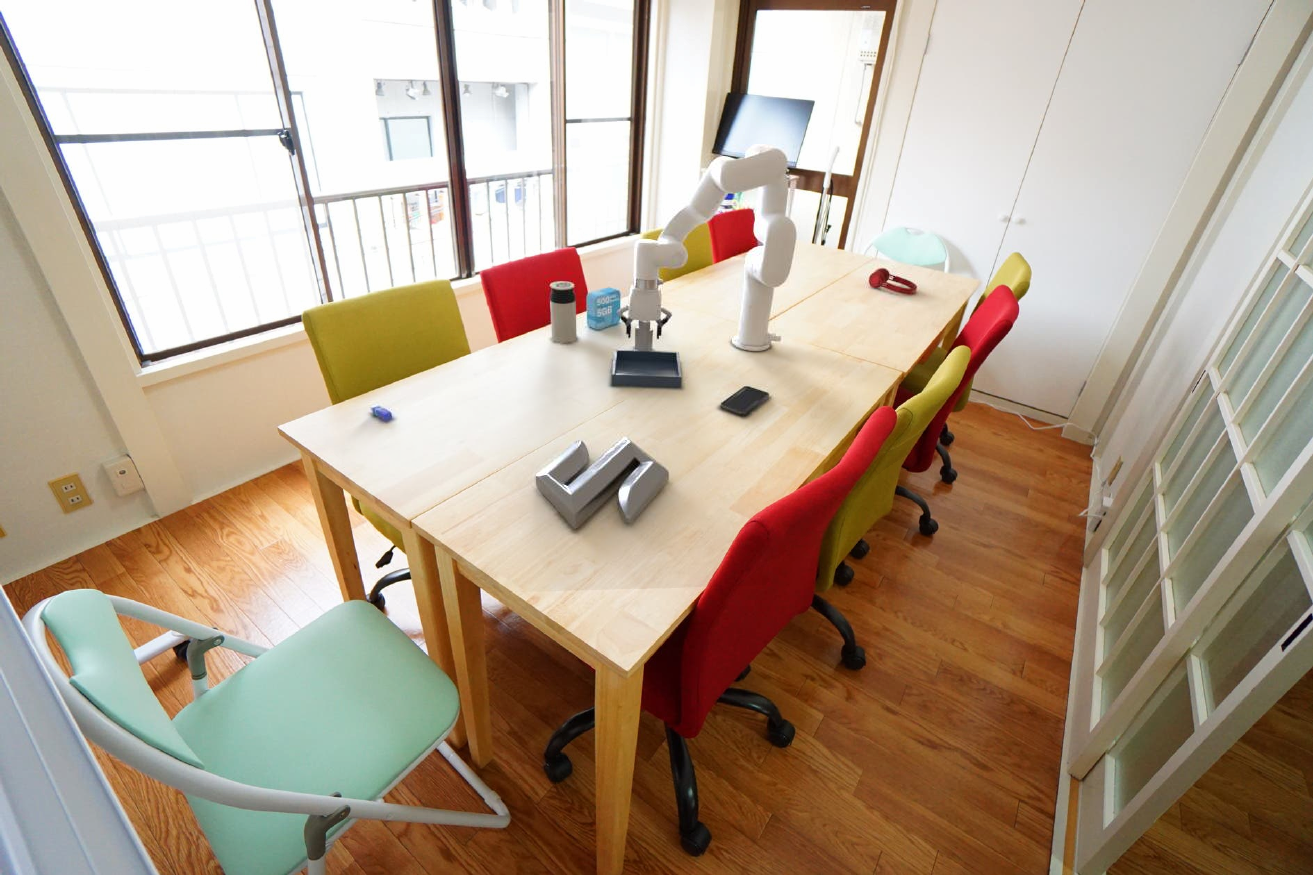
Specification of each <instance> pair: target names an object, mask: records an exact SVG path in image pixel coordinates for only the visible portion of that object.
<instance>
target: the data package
mask: <svg viewBox="0 0 1313 875" xmlns="http://www.w3.org/2000/svg"><path fill="white" fill-rule="evenodd" d="M619 309H621V291H620V290H618V289H616V288H613V287H610V286H609V287H604V288H602V289H597V290H594V291H591V292H589V293H587V294H586V325H587V326H588V327H589V328H592V329H594V330H596V331H598V330H599V331H600V330H602V329H605V328H608V327H612V326H614V325H617V324H619V323H620V321H621V318H620V317H619V315H618V313H617V311H618V310H619Z"/></svg>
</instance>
